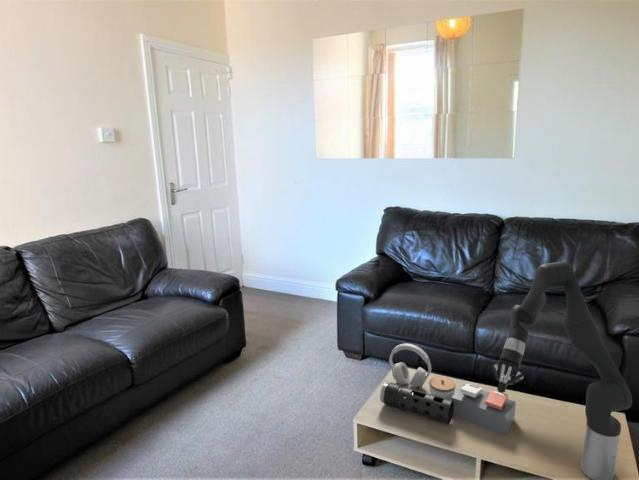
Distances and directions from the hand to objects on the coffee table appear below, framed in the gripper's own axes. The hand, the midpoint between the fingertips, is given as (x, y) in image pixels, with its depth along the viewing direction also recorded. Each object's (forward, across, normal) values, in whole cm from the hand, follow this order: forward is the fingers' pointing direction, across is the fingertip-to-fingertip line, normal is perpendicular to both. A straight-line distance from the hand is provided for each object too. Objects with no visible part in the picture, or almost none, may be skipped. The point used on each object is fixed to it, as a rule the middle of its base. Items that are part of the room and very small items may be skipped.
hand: (500, 392), depth 172 cm
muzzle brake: (+21, -26, -6) cm, 34 cm away
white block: (+4, -10, -2) cm, 11 cm away
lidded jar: (+10, -23, +6) cm, 26 cm away
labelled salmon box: (+4, 0, -2) cm, 5 cm away
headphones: (+10, -39, +7) cm, 41 cm away
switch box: (+11, -5, +4) cm, 13 cm away
